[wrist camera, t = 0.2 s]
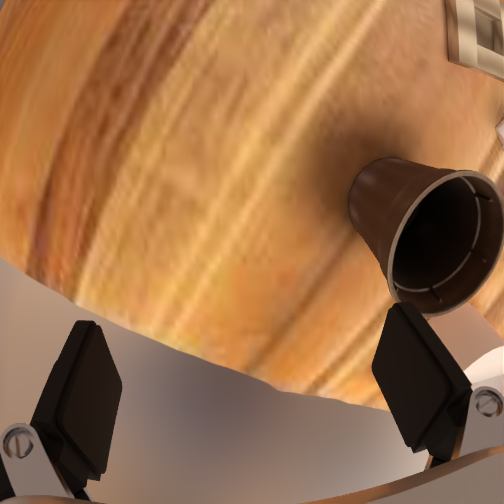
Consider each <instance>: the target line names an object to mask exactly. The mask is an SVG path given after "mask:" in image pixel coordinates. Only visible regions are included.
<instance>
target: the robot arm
mask: <svg viewBox="0 0 504 504" xmlns="http://www.w3.org/2000/svg"><path fill="white" fill-rule="evenodd" d="M372 372H373V374H374V377H375V379H376V381H377V383H378V385H379V387H380V389H381V391H382V393H383V396H384V398H385V400H386V402H387V404H388V406H389V409H390V411H391V413H392V415H393V417H394V419H395V422H396V424H397V426H398V428H399V431H400V433H401V435H402V437H403V439H404V442H405V444H406V445H407V447H411V449H412V451H413V453H416V452H420V451H423V450H425V449H427V450H428V452H429V458H428V461H427V463H426V466H425V469H424V471H423V472H420V473H417V474H414V475H411V476H409V477H405V478H402V479H400V480H396V481H393V482H390V483H387V484H384V485H380V486H377V487H373V488H370V489H366V490H363V491H358V492H355V493H350V494H346V495H342V496H337V497H333V498H328V499H323V500H318V501H312V502H306V503H300V504H504V396H503V395H502V394H501V393H500V392H499V391H498V390H496V389H494V388H492V387H488V386H482V387H478V388H476V389H475V390H474V391H473V390H472V388H471V386H472V384H471V382H470V381H469V379H468V378H467V376H466V375H465V373H464V372H463V370H462V369H461V367H460V366H459V365H458V363H457V362H456V360H455V359H454V357H453V356H452V355H451V353H450V352H449V350H448V349H447V348H446V346H445V345H444V344H443V342H442V341H441V339H440V338H439V337H438V335H437V334H436V333H435V331H434V330H433V329H432V327H431V326H430V325H429V323H428V322H427V321H426V319H425V318H424V317H423V316H422V314H421V313H420V312H419V310H418V309H417V308H416V306H415V305H414V304H413V303H412V302H411V301H405V302H398V303H394V304H393V306H392V308H390V309H389V310H388V313H387V317H386V320H385V324H384V327H383V330H382V334H381V337H380V340H379V343H378V347H377V350H376V353H375V356H374V359H373V362H372ZM121 392H122V381H121V379H120V376H119V374H118V371H117V369H116V366H115V364H114V361H113V359H112V356H111V354H110V351H109V348H108V346H107V343H106V340H105V337H104V334H103V332H102V329H101V327H100V326H99V325H96V323H95V322H94V321H85V320H78V321H76V323H75V324H74V326H73V328H72V331H71V332H70V335H69V336H68V339H67V341H66V343H65V345H64V347H63V349H62V351H61V354H60V356H59V358H58V360H57V361H56V362H55V364H54V366H53V368H52V371H51V373H50V375H49V377H48V380H47V382H46V385H45V387H44V389H43V392H42V394H41V397H40V399H39V402H38V404H37V407H36V409H35V412H34V414H33V417H32V420H31V423H30V425H28V424H25V423H16V424H13V425H11V426H9V427H8V428H6V430H5V431H4V432H3V433H2V435H1V437H0V504H104V503H98V502H95V501H94V500H93V498H92V497H91V495H90V493H89V492H88V490H87V489H86V485H87V479H90V480H96V481H100V477H101V474H104V473H105V471H106V468H107V462H108V456H109V450H110V445H111V440H112V435H113V429H114V425H115V419H116V415H117V410H118V406H119V401H120V396H121Z"/></svg>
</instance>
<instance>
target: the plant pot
mask: <svg viewBox="0 0 504 504" xmlns="http://www.w3.org/2000/svg"><path fill="white" fill-rule="evenodd" d="M348 203H349V209H350V218H351V221H352V223H353V225H354V227H355V228H356V230H357V231H358V232H359V233H360V235H361V236H362V238H363V239H364V240H365V242H366V243H367V245H368V246H369V248H370V249H371V251H372V252H373V254H374V255H375V257H376V258H377V260H378V262H379V263H380V267H381V270H382V272H383V274H384V276H385V278H386V279H387V283H388V287H389V290H390V293H391V295H392V297H393V299H394V301H395V302H396V303H398V302H405V301H411V302H412V303H413V304H414V305H415V306H416V308H417V309H418V310H419V312H420V313H421V314H422V316H423V317H424V318H431V317H437V316H442V315H445V314H447V313H450V312H452V311H454V310H456V309H457V308H459V307H461V306H462V305H463V304H465V303H466V302H467V301H468V300H470V299H471V298H472V297H473V296H474V295H475V294H476V293H477V292H478V291H479V290H480V289H481V287H482V286H483V285H484V283H485V282H486V281H487V279H488V278H489V276H490V275H491V273H492V272H493V270H494V268H495V266H496V264H497V262H498V260H499V257H500V255H501V252H502V249H503V245H504V200H503V197H502V194H501V192H500V190H499V189H498V187H497V186H496V184H495V183H494V182H493V181H492V180H491V179H490V178H488V177H487V176H485V175H483V174H481V173H479V172H475V171H470V170H458V171H456V170H452V169H443V168H442V169H438V168H434V167H430V166H426V165H422V164H418V163H414V162H410V161H406V160H402V159H399V158H392V157H391V158H385V159H381V160H377V161H374V162H372V163H371V164H369V165H368V166H367V167H366V168H364V169H363V170H362V172H361V173H360V174H359V175H358V177H357V178H356V180H355V182H354V183H353V186H352V188H351V191H350V195H349V202H348ZM412 211H414V213H413V215H412V217H411V218H410V220H409V221H408V222H407V220H408V218H409V216H410V215H411V213H412ZM406 222H407V223H406ZM405 223H406V224H405Z"/></svg>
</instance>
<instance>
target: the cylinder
mask: <svg viewBox="0 0 504 504" xmlns="http://www.w3.org/2000/svg"><path fill="white" fill-rule="evenodd" d="M427 322H428V323H429V325H430V326H431V327H432V329H433V330H434V331H435V333H436V334H437V335H438V337H439V338H440V339H441V341H442V342H443V344H444V345H445V346H446V348H447V349H448V350H449V352H450V353H451V355H452V356H453V357H454V359H455V360H456V362H457V363H458V365H459V366H460V367H461V369H462V370H463V372H464V373H465V375H466V376H467V378H468V379H469V381H470V382H471V384H472V386H471V388H472V390H473V391H474V390H475V389H476V388H478V387H482V386H488V387H492V388H494V389H496V390H498V391H499V392H500V393H501V394H502V395H503V396H504V340H503V339H502V337H501V336H500V335H499V334H498V333H497V332H496V330H495V329H494V328H493V327H492V326H491V325H490V324H489V323H488V321H487V320H486V319H485V318H484V317H483V316H482V315H481V314H480V313H479V312H478V310H477V309H476V308H475V307H474V306H473V305H471V304H470V303H468V302H466V303H465V304H463V305H462V306H461V307H459V308H457V309H456V310H454V311H452V312H450V313H447V314H445V315H442V316H437V317H431V318H430V319H429V320H428V321H427Z"/></svg>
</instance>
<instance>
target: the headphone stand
mask: <svg viewBox="0 0 504 504" xmlns="http://www.w3.org/2000/svg"><path fill="white" fill-rule="evenodd" d="M495 129H496V131H497V134H498V136H499V139H500V141H501V144H502V147H503V149H504V119H503V120H502V121H501V123H500V124H499V125H498V126H497V127H496V128H495Z"/></svg>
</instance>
